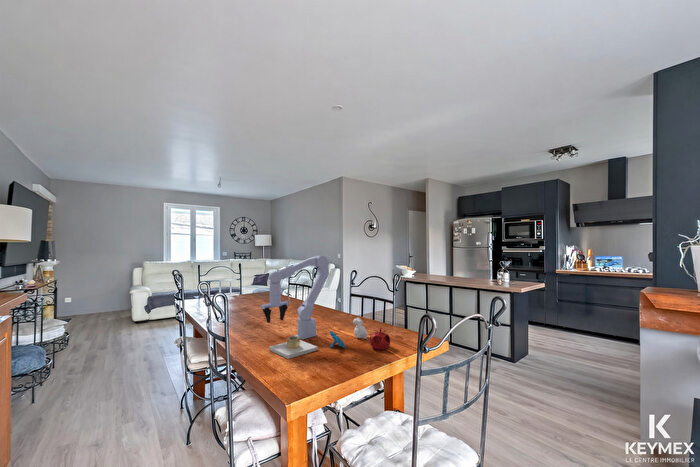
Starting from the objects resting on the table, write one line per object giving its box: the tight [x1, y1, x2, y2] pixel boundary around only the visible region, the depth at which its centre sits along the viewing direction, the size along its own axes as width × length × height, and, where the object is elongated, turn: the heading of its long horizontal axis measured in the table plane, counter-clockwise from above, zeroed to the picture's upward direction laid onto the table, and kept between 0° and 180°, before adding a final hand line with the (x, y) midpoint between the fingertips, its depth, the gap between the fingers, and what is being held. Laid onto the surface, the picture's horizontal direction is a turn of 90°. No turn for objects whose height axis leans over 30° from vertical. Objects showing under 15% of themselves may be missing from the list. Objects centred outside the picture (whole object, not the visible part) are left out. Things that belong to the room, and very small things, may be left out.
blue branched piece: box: [329, 330, 346, 349], centre depth 149 cm, size 11×6×10 cm
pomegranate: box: [368, 327, 391, 351], centre depth 147 cm, size 10×10×9 cm
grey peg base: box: [268, 335, 319, 360], centre depth 145 cm, size 16×16×6 cm
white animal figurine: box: [352, 317, 368, 340], centre depth 164 cm, size 12×8×11 cm
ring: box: [286, 335, 301, 349], centre depth 145 cm, size 6×6×4 cm
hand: (275, 321), depth 161 cm, fingers open, 7 cm apart
